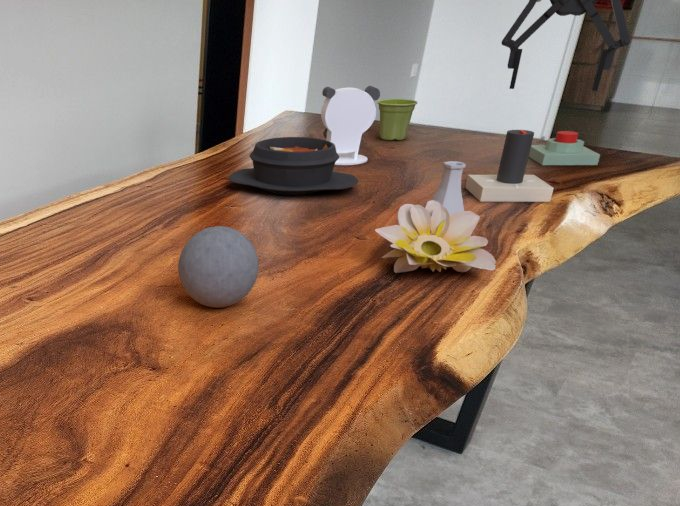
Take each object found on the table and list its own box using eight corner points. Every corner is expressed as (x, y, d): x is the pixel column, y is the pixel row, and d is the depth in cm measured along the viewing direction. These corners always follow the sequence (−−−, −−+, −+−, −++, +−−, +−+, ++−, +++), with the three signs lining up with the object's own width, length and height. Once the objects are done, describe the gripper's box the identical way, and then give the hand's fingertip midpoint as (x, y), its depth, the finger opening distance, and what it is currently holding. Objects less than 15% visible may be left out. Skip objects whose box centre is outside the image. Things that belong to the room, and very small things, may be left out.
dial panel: (530, 187, 137) (534, 173, 135) (550, 202, 128) (554, 186, 127) (465, 187, 138) (467, 173, 137) (480, 201, 129) (483, 186, 128)
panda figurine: (361, 153, 167) (370, 83, 159) (377, 164, 157) (387, 89, 149) (310, 155, 166) (316, 84, 159) (322, 165, 157) (330, 91, 149)
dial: (493, 177, 134) (504, 128, 129) (518, 177, 133) (529, 127, 129) (500, 183, 130) (512, 132, 126) (526, 183, 130) (538, 132, 125)
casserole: (361, 180, 145) (366, 137, 140) (351, 205, 130) (358, 157, 125) (239, 174, 152) (241, 132, 148) (217, 196, 137) (218, 150, 133)
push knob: (571, 140, 155) (574, 130, 154) (578, 144, 152) (581, 134, 151) (551, 141, 156) (554, 131, 154) (558, 144, 152) (561, 134, 151)
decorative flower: (382, 277, 94) (395, 197, 91) (361, 267, 105) (372, 196, 102) (498, 284, 93) (515, 205, 90) (465, 274, 104) (479, 203, 101)
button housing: (578, 155, 159) (583, 136, 157) (597, 165, 151) (603, 145, 148) (525, 155, 160) (530, 136, 158) (542, 165, 152) (547, 145, 150)
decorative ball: (182, 322, 88) (182, 242, 83) (174, 291, 96) (174, 217, 91) (263, 318, 88) (268, 238, 83) (248, 288, 97) (252, 214, 91)
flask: (451, 218, 121) (463, 157, 116) (475, 230, 115) (489, 166, 110) (411, 221, 120) (421, 159, 115) (433, 234, 114) (445, 169, 109)
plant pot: (365, 139, 181) (370, 102, 176) (385, 133, 186) (390, 97, 182) (399, 143, 175) (404, 105, 170) (418, 137, 180) (424, 100, 176)
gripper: (503, -44, 124) (477, 89, 135) (675, -51, 114) (632, 93, 125) (505, -43, 129) (480, 84, 140) (669, -51, 120) (629, 87, 130)
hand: (552, 89), depth 133 cm, fingers open, 13 cm apart
